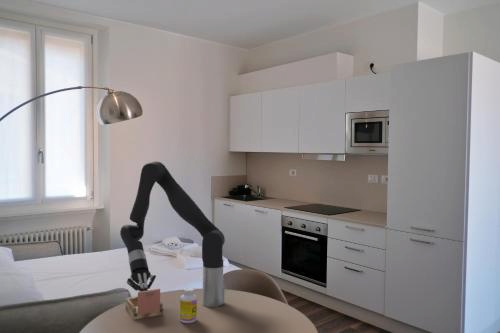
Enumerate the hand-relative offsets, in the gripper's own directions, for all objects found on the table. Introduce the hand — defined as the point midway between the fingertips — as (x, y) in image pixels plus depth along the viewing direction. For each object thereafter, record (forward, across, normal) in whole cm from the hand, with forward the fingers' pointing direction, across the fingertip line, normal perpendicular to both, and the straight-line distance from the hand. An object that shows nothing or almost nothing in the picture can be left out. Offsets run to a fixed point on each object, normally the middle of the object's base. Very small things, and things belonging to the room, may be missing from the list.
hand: (145, 297), depth 168 cm
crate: (+3, 0, +6) cm, 7 cm away
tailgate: (+7, 0, -1) cm, 7 cm away
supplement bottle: (+16, +13, -7) cm, 22 cm away
